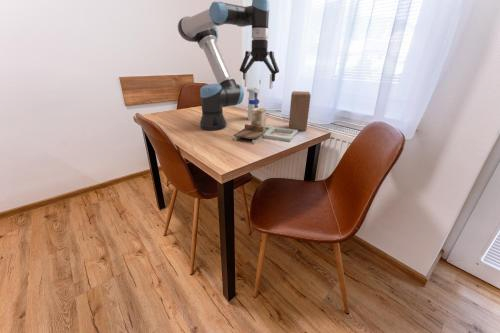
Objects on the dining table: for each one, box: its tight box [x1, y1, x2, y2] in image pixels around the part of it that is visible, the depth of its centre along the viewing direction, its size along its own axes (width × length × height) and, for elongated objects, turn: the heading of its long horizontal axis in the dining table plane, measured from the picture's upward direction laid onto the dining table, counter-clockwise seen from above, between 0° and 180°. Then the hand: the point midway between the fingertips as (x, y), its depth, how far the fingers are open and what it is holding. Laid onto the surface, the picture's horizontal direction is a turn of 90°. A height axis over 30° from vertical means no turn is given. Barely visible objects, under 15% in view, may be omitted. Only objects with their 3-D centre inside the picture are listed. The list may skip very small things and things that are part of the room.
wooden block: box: [288, 90, 311, 132], centre depth 123 cm, size 10×10×20 cm
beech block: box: [250, 107, 267, 131], centre depth 118 cm, size 6×6×12 cm
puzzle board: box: [233, 125, 299, 145], centre depth 114 cm, size 27×26×2 cm
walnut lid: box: [233, 123, 265, 140], centre depth 110 cm, size 12×12×3 cm
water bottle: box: [246, 80, 262, 121], centre depth 141 cm, size 8×9×25 cm
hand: (258, 87), depth 111 cm, fingers open, 13 cm apart
